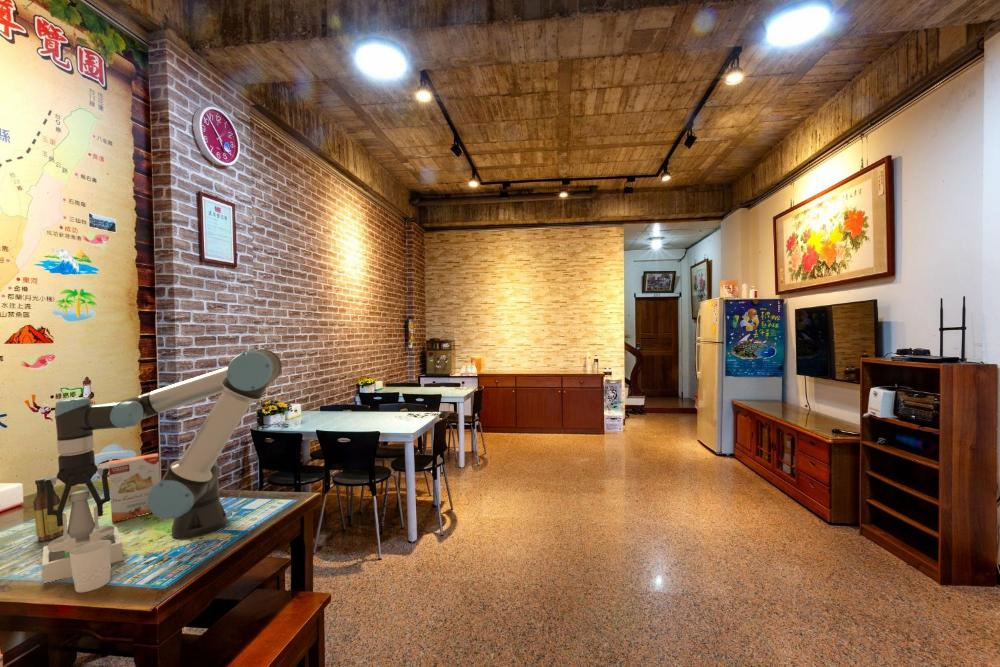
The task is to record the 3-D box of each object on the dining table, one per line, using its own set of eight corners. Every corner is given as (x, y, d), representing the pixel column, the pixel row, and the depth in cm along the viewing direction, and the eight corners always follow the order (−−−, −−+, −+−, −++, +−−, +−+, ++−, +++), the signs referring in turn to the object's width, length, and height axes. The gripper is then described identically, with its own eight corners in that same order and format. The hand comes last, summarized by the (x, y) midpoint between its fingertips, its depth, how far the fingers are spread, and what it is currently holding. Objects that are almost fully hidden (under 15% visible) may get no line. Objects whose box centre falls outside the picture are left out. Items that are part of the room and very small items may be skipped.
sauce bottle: (68, 531, 150) (64, 473, 149) (57, 539, 144) (53, 478, 143) (42, 535, 147) (38, 476, 147) (31, 544, 141) (26, 482, 141)
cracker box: (111, 524, 154) (107, 464, 154) (112, 518, 159) (108, 460, 158) (162, 511, 163) (158, 455, 163) (161, 507, 168) (158, 452, 167)
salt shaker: (78, 541, 124) (75, 495, 124) (62, 540, 126) (59, 495, 125) (100, 532, 130) (97, 488, 130) (85, 531, 131) (82, 487, 131)
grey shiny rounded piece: (118, 559, 125) (117, 538, 125) (48, 581, 115) (46, 558, 115) (113, 540, 138) (112, 521, 138) (49, 558, 128) (47, 538, 128)
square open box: (123, 560, 127) (120, 526, 127) (43, 585, 116) (40, 548, 116) (117, 542, 139) (115, 511, 139) (44, 563, 128) (42, 529, 128)
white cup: (68, 588, 114) (65, 550, 114) (107, 573, 121) (105, 537, 120) (77, 597, 110) (74, 557, 109) (117, 581, 116) (115, 543, 116)
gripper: (118, 442, 137) (122, 517, 137) (29, 457, 123) (34, 540, 124) (120, 446, 131) (125, 524, 132) (27, 462, 118) (33, 548, 118)
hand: (81, 531), depth 128 cm, fingers closed on salt shaker, 6 cm apart
